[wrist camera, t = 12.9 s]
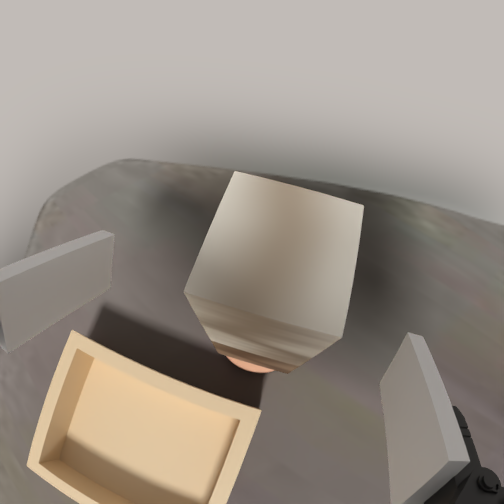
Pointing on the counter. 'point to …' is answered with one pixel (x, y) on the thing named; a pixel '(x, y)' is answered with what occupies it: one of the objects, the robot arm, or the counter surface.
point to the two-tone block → (275, 272)
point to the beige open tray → (136, 433)
